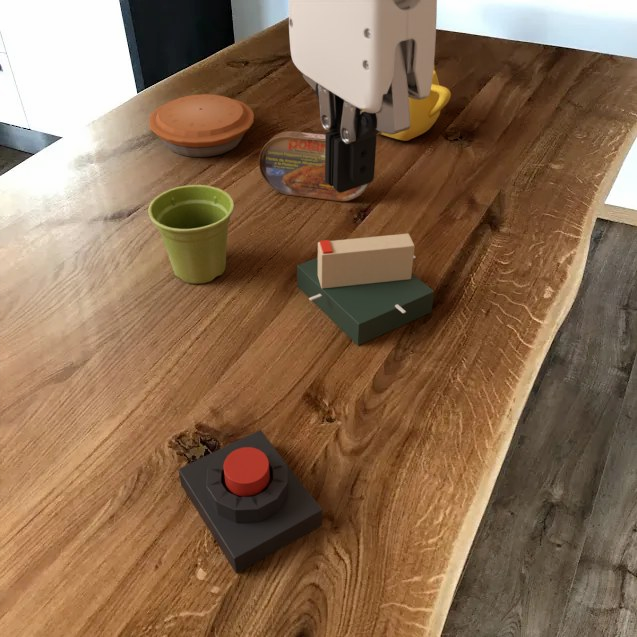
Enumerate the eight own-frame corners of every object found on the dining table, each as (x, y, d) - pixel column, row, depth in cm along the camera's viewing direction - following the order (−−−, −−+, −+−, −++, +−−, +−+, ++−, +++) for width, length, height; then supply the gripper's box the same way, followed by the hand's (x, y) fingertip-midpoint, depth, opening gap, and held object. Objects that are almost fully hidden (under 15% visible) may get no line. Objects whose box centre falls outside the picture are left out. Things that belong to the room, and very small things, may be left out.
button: (278, 483, 59) (277, 470, 58) (238, 504, 57) (237, 490, 56) (255, 453, 61) (254, 440, 60) (217, 472, 59) (215, 459, 58)
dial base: (452, 311, 81) (456, 288, 79) (347, 359, 75) (348, 336, 73) (376, 248, 90) (377, 226, 88) (276, 287, 84) (275, 265, 82)
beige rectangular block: (405, 266, 82) (409, 231, 79) (411, 279, 80) (415, 243, 77) (317, 275, 80) (317, 240, 77) (321, 289, 79) (321, 253, 75)
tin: (259, 191, 100) (256, 134, 94) (266, 180, 102) (263, 123, 96) (368, 206, 97) (371, 148, 91) (372, 194, 99) (375, 137, 94)
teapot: (449, 148, 109) (458, 82, 102) (364, 151, 108) (367, 84, 102) (431, 109, 119) (438, 46, 113) (353, 111, 119) (355, 48, 112)
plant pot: (155, 296, 82) (144, 232, 77) (161, 248, 89) (151, 185, 84) (239, 292, 83) (233, 228, 77) (238, 244, 90) (233, 182, 84)
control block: (322, 525, 60) (322, 496, 57) (236, 574, 57) (232, 545, 54) (261, 445, 66) (259, 415, 64) (180, 484, 63) (175, 455, 60)
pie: (134, 158, 106) (129, 126, 103) (175, 112, 118) (171, 82, 115) (235, 171, 104) (233, 138, 100) (267, 123, 115) (265, 93, 112)
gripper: (505, -89, 37) (458, 215, 49) (339, -135, 47) (334, 130, 59) (388, -70, 34) (368, 250, 46) (236, -123, 44) (252, 154, 56)
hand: (349, 182), depth 53 cm, fingers closed
